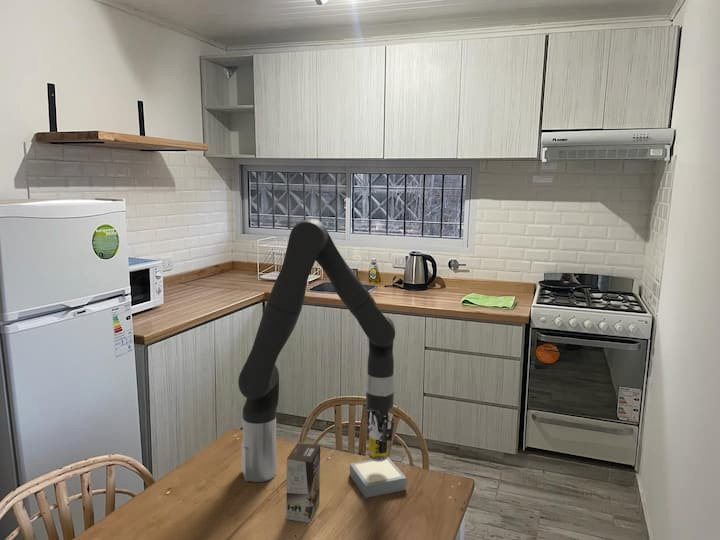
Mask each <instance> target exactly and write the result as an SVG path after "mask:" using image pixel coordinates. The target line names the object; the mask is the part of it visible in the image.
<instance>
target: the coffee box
mask: <svg viewBox="0 0 720 540" xmlns="http://www.w3.org/2000/svg"><path fill="white" fill-rule="evenodd" d="M320 475H321V445H319V444H313V443H312V444H311V443H299V442H298V443H296V445H295V446H294V448H293V450H291V451H290V453H289V455H288V456H287V458H286V490H285V491H286V496H285V497H286V500H285V501H286V504H285V505H286V507H285V509H286V511H285V514H286V515H285V516H286V517H285V518H286V520H290V521H296V522H302V523H307V524H309V523H311V520H312V519H313V518H314V517H313V516H314V515H315V512H316V511H317V509H318V507H319V504H320V499H321V498H320V492H321V491H320V489H321V488H320V483H321V481H320V480H321V476H320Z"/></svg>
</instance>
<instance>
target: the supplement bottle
mask: <svg viewBox="0 0 720 540" xmlns="http://www.w3.org/2000/svg"><path fill="white" fill-rule="evenodd" d="M379 428H380V429H382V428H383V427H379ZM388 435H389V434H388ZM368 437H369V438H368V455H367V456H368V458H369V460H373V461H376V462H381V461H385V460H386V459H387V458H388V457H389V456H388V455H389V441H387V452H386V453H382V454H380V453H379V435H378V432H377V431H376V425H375V424H374V422H373V423H372V430H371V431H370V430H369V433H368Z"/></svg>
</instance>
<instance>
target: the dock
mask: <svg viewBox="0 0 720 540" xmlns="http://www.w3.org/2000/svg"><path fill="white" fill-rule="evenodd" d="M349 476H350V477H351V479H352V481H353V482H354V484H355V485H356V486H357V488H358V490H359V491H360V493H361V494H362V496H364V498H365V499H368V498H373V497H376V496H383V495H387V494H391V493H397V492H401V491H406V490H407V476H406V475H405V474H404V473H403V472H402V471H401V470H400V469H399V467H398V466H397V465H396V464H395V463H394V462H393V460H392V459H391V458H390V457H389V456H388V458H387V459H386V460H385V461H381V462H376V461H373V460H371V459H368V460H363V461H358V462H353V463H349Z"/></svg>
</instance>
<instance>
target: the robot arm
mask: <svg viewBox="0 0 720 540" xmlns="http://www.w3.org/2000/svg"><path fill="white" fill-rule="evenodd" d="M315 262H316V263H317V264H318V265H319V266H320V268H322V270H323V272H324V274H326V276H327V278H328V280H329V281H330V283H331V285H332V287H333V289H334V291H335V292H336V294H337V296H338V297H339V299H340V300H341V302H343V304H344V306H345V307H346V309H348V310H349V312H350V314H352V315H353V317H354V318H355V319H356V321H357V323H358V324H359V325H360V326H359V327H360V328H361V329H362V331H363V333H364V334H365V336H367V338H368V358H367V375H366V384H365V386H366V387H365V411H366V413H365V415H366V425H367V426H368V429H369V432H370V431H371V430H372V423H373V422H374V424H375V425H376V431H377V432H378V435H379V453H380V454H382V453H386V452H387V441H388V442H391V441H393V440H392V439H393V433H394V426H395V425H394V424H395V422H394V420H391V421H390V417H389V411H390V409H392V408H393V407H394V397H395V396H394V395H395V391H394V390H395V378H394V369H395V367H394V365H395V361H394V353H393V349H394V341H395V338H396V330H395V325H394V322H393V320H392V319H391V318H390V317H389V316H387V315H384V314H383V312H382V311H381V310H380V308H379V307H378V305H377V303H376V300H375V299H374V297H373V296H372V294H371V293H370V292H369V291H368V290H367V288H366V287H365V285H364V284H363V283H362V281H361V280H360V279H359V278H358V277H357V275H356V274H355V272H354V271H353V270H352V268H351V267H350V266H349V265H348V264H347V262H346V261H345V259H344V257H343V256H342V255H341V253H340V252H339V250H338V248H337V247H336V245H335V243H334V240H333V239H332V237H331V235H330V234H329V231H328V228H326V226H325V225H324V223H323V222H321V220H318V219H315V218H305V219H303V220H301V221H299V222H297V223H296V224H295V225H294V226H293V228H292V229H291V230H290V232H289V237H288V241H287V246H286V251H285V254H284V258H283V262H282V266H281V268H280V271H279V273H278V276H277V278H276V279H275V281H274V284H273V287H272V289H271V291H270V293H269V296H268V298H267V300H266V301H267V302H266V305H265V307H264V310H263V312H262V316H261V318H260V322H259V325H258V328H257V332H256V336H255V338H254V341H253V345H252V348H251V350H250V352H249V355H248V356H247V358H246V361H245V363H244V365H243V367H242V369H241V371H240V373H239V376H238V380H237V381H238V382H237V383H238V388H239V392H240V393H241V395H242V396H244V398H246V400H245V403H244V405H243V407H242V439H241V473H242V476H243V479H244V482H246V483H247V482H251V483H252V482H253V483H262V482H267V481H270V480H272V479H274V477H275V476H276V474H277V409H278V405H279V400H280V375H279V374H280V373H279V370H278V367H277V365H276V363H277V359H278V357H279V355H280V354H281V352H282V349H283V348H284V346H285V345H286V344H287V342H288V341H289V338H290V337H291V334H292V333H293V331H294V329H295V326H296V324H298V323H297V322H298V320H299V317H300V314H301V312H302V308H303V305H304V301H305V298H306V297H305V295H306V290H307V284H308V280H309V276H310V274H311V272H312V270H313V267H314V265H315ZM379 427H383V428H382V429H380V428H379ZM388 434H389V435H388Z"/></svg>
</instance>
